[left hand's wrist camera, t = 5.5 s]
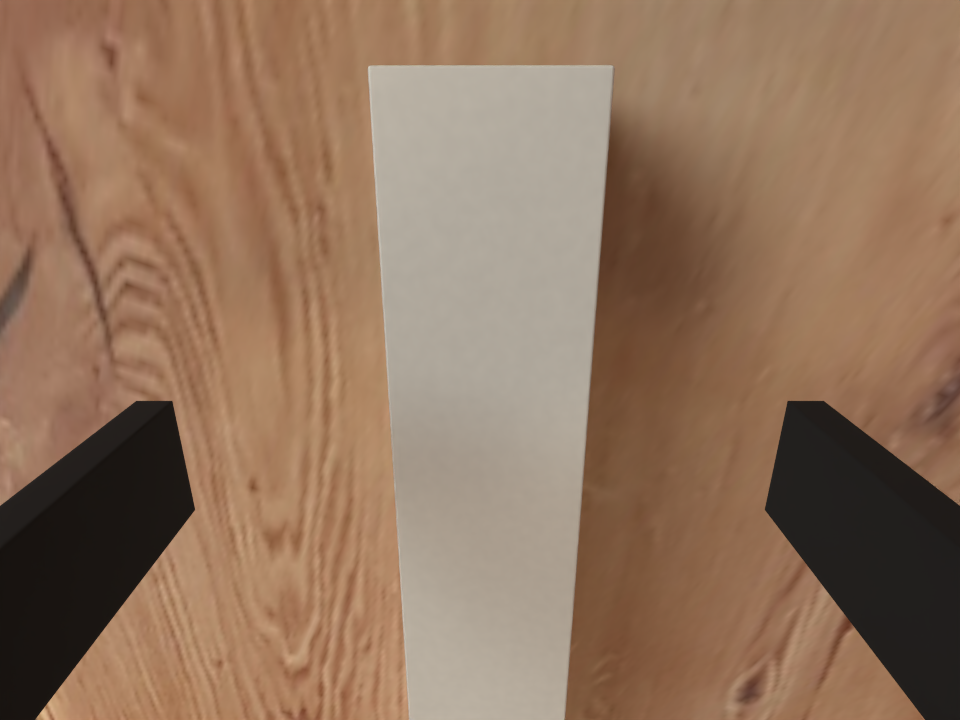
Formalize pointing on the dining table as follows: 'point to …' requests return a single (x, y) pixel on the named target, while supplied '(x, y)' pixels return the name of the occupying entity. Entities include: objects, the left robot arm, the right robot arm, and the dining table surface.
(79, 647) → the left robot arm
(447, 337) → the beam
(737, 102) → the dining table surface
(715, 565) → the dining table surface
